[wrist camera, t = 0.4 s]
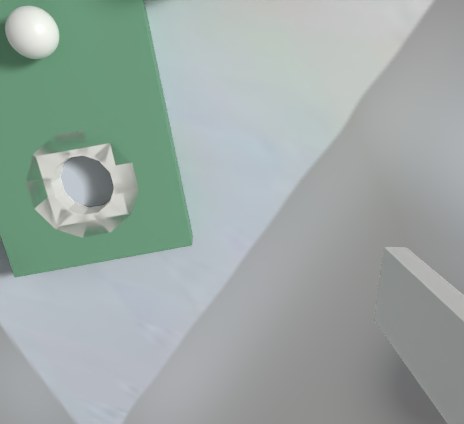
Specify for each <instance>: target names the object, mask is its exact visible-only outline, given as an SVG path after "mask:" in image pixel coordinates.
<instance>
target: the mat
mask: <svg viewBox="0 0 464 424" xmlns="http://www.w3.org/2000/svg"><path fill="white" fill-rule="evenodd" d="M22 6H35V7H38V8H41V9H43V10H44V11H46V12H47V13H48V14H49V15H50V16H51V17H52V18H53V19H54V21H55V22H56V24H57V26H58V29H59V43H58V46H57V48H56V50H55V51H54V52H53V53H52V54H51V55H49V56H48V57H45V58H42V59H31V58H27V57H25V56H23V55H21V54H19V53H18V52H17V51H16V50H14V49H13V47H12V46H11V45H10V43H9V41H8V39H7V37H6V33H5V24H6V20H7V18H8V16H9V15H10V13H11V12H12V11H14V10H15V9H17V8H19V7H22ZM82 155H83V156H86V157H89V158H92V159H95V160H98V161H99V162H100V163H101V164H102V165H103V166H104V167H105V168H106V169H107V170H108V171H109V172H110V174H111V178H112V182H113V186H114V190H113V193H112V196H111V199H110V200H109V201H108V202H107V203H106V204H105V205H100V206H94V207H88V206H85V205H81V204H78V203H75V202H74V201H73V200H72V199H71V198H70V197H69V196H68V194H67V193H66V192H65V191H64V188H63V184H62V181H61V174H62V170H63V167H64V163H65V162H66V161H68V160H69V159H70V158H71V157H77V156H82ZM0 236H1V239H2V242H3V245H4V248H5V251H6V254H7V257H8V260H9V263H10V265H11V268H12V271H13V274H14V277H20V276H25V275H31V274H36V273H42V272H47V271H53V270H58V269H64V268H69V267H75V266H80V265H86V264H92V263H97V262H103V261H108V260H114V259H119V258H125V257H130V256H136V255H141V254H147V253H152V252H158V251H163V250H169V249H174V248H180V247H185V246H191V245H192V239H193V235H192V230H191V225H190V220H189V216H188V211H187V206H186V201H185V196H184V191H183V187H182V182H181V177H180V172H179V167H178V162H177V158H176V153H175V148H174V143H173V138H172V133H171V129H170V124H169V119H168V114H167V109H166V104H165V100H164V95H163V90H162V85H161V80H160V76H159V71H158V66H157V61H156V56H155V51H154V47H153V42H152V37H151V32H150V27H149V22H148V18H147V13H146V8H145V3H144V0H0Z"/></svg>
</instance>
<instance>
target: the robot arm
mask: <svg viewBox="0 0 464 424" xmlns="http://www.w3.org/2000/svg"><path fill="white" fill-rule="evenodd" d="M374 321H375V322H376V323H377V325H378V326H379V328H380V329H381V330H382V332H383V333H384V335H385V336H386V337H387V339H388V340H389V342H390V343H391V345H392V346H393V347H394V349H395V350H396V351H397V353H398V354H399V356H400V357H401V358H402V360H403V362H404V363H405V364H406V366H407V367H408V368H409V370H410V371H411V373H412V374H413V376H414V377H415V378H416V380H417V381H418V383H419V384H420V385H421V387H422V388H423V390H424V391H425V393H426V394H427V395H428V397H429V398H430V400H431V401H432V402H433V404H434V405H435V407H436V408H437V409H438V411H439V412H440V414H441V415H442V416H443V418H444V419H445V421H446V422H447V423H448V424H464V295H463V294H462V293H460V292H459V291H458V290H457V289H456V288H454V287H453V286H452V285H451V284H450V283H448V282H447V281H446V280H445V279H444V278H442V277H441V276H440V275H439V274H438V273H436V272H435V271H434V270H433V269H432V268H430V267H429V266H428V265H427V264H426V263H424V262H423V261H422V260H421V259H420V258H418V257H417V256H416V255H415V254H414V253H412V252H411V251H410V250H409V249H407V248H406V247H384V250H383V257H382V265H381V272H380V279H379V286H378V294H377V301H376V309H375V315H374Z"/></svg>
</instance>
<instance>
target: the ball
mask: <svg viewBox="0 0 464 424" xmlns="http://www.w3.org/2000/svg"><path fill="white" fill-rule="evenodd" d="M5 33H6V37H7V39H8V41H9V43H10V45H11V46H12V47H13V49H14V50H16V51H17V52H18V53H19V54H21V55H23V56H25V57H27V58H31V59H42V58H45V57H48V56H49V55H51V54H52V53H53V52H54V51H55V50H56V48H57V46H58V43H59V29H58V26H57V24H56V22H55V21H54V19H53V18H52V17H51V16H50V15H49V14H48V13H47V12H46V11H44V10H43V9H41V8H38V7H35V6H22V7H19V8H17V9H15V10H14V11H12V12H11V13H10V15H9V16H8V18H7V20H6V24H5Z"/></svg>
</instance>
